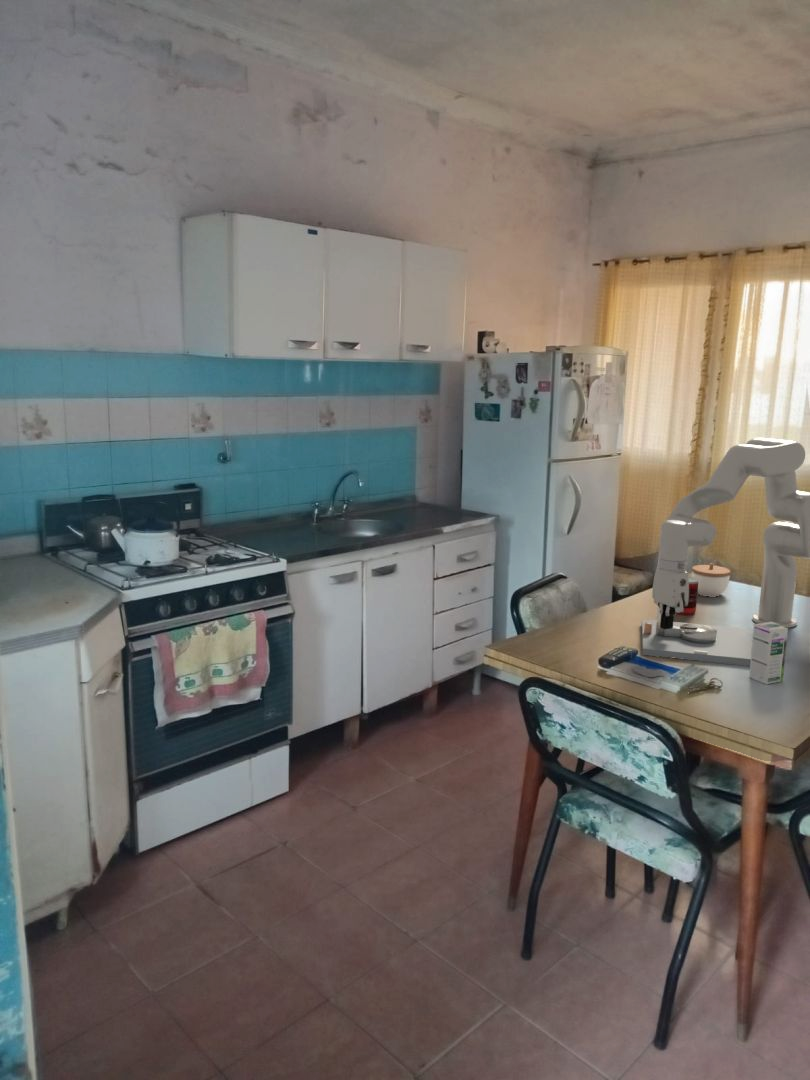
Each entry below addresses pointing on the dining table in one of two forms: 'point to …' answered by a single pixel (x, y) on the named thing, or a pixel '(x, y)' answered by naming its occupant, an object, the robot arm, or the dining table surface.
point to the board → (700, 645)
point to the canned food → (691, 597)
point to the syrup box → (768, 652)
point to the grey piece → (688, 631)
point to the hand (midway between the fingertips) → (666, 628)
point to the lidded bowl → (711, 579)
